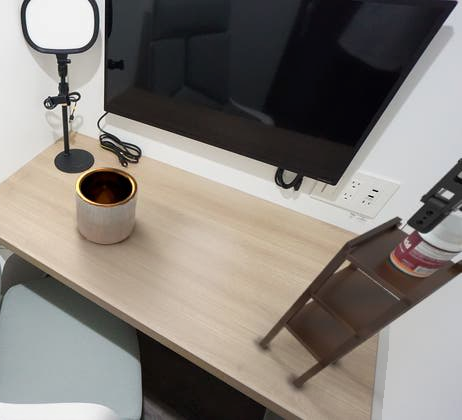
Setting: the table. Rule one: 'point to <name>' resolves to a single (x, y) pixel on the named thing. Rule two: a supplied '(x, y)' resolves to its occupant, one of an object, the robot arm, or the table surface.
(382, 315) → the rack
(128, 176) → the planter
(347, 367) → the table surface
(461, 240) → the pill bottle
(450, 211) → the robot arm
